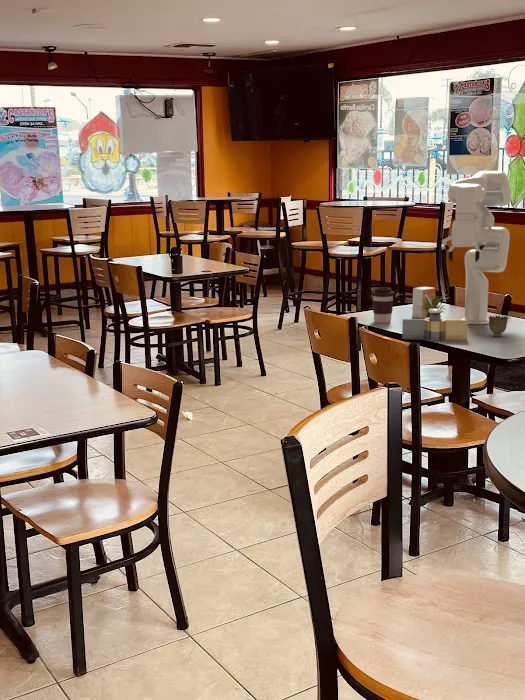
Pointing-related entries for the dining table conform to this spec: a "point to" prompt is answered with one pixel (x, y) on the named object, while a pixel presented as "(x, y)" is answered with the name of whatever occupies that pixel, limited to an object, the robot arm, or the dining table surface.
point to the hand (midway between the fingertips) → (463, 261)
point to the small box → (418, 302)
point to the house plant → (434, 304)
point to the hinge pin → (435, 314)
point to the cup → (497, 325)
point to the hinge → (434, 329)
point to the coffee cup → (382, 304)
